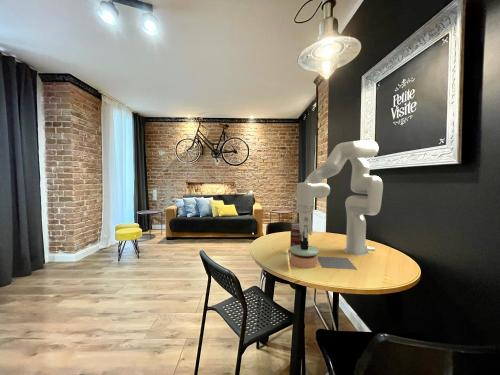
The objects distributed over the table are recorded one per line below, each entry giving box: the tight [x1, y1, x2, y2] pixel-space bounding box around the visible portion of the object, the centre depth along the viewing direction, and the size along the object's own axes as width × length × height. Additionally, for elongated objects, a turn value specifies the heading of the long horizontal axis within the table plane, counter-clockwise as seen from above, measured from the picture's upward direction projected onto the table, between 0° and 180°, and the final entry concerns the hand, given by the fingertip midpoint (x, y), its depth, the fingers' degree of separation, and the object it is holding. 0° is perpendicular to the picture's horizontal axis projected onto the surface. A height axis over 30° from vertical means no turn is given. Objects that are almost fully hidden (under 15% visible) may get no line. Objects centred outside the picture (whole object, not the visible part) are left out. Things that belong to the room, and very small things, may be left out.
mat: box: [317, 255, 358, 271], centre depth 109 cm, size 15×15×1 cm
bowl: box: [290, 252, 319, 269], centre depth 108 cm, size 12×12×5 cm
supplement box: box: [289, 223, 301, 248], centre depth 125 cm, size 9×5×16 cm, turn 83°
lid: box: [289, 238, 319, 256], centre depth 108 cm, size 13×13×6 cm
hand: (304, 247), depth 108 cm, fingers closed on lid, 2 cm apart
